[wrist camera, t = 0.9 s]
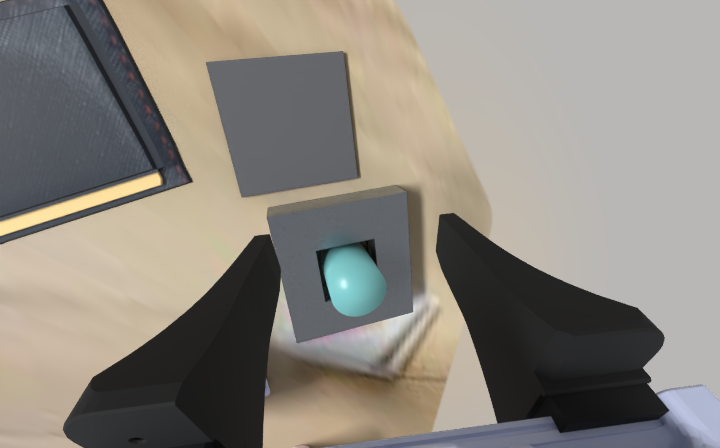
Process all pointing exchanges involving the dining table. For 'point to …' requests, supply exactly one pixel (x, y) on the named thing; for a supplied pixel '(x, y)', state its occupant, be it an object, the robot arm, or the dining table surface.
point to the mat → (285, 120)
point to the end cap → (352, 279)
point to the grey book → (74, 118)
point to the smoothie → (301, 446)
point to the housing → (336, 228)
